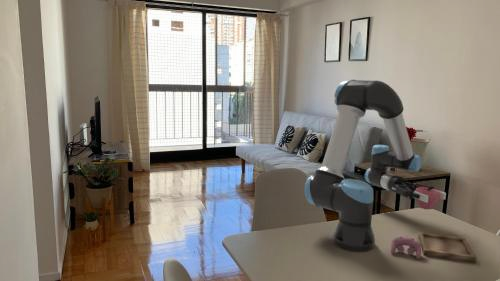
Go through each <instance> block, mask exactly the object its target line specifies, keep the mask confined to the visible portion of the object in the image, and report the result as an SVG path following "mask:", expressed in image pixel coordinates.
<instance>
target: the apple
mask: <svg viewBox="0 0 500 281" xmlns="http://www.w3.org/2000/svg"><path fill="white" fill-rule="evenodd" d="M433 187H434V186H430V188H426V187H418V188H416V190H415V191H416V192H419V193H422V194H425V195H428V202H427V203H426V202H424V201H421V200H418V199H415V200H416V201H417V203H418V206H419V208H420V209H422V210H432V209H433V208H434V206H436V205H437V203H438V202H439V200H440V198H439V197H440V195H439V192H438V191H439V190H438V191H436V190H437V189H435V190H433V189H434V188H435V187H434V188H433Z"/></svg>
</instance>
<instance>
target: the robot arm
mask: <svg viewBox="0 0 500 281" xmlns="http://www.w3.org/2000/svg"><path fill="white" fill-rule="evenodd" d="M334 104H335V106H336V110H337V112H338V115H337V116H336V117H337V118H336V119H335V124H334V125H333V130H332V133H331V135H330V139H329V142H328V145H327V147H326V151H325V154H324V158H323V160H322V163H321V166H320V167H318V168H317V169H316V170H315V172H314V174H311V175H309V176H308V177H307V179H306V181H305V183H304V194H305V199H306V200H307V202H308V203H310V204H311V205H314V206H316V207H318V208H322V209H327V210H330V211H332V212H337V213H338V222H337V225H336V228H335V229H334V233H333V235H332V242H333V244H334V245H335V246H337V247H338V248H341V249H342V250H345V251H350V252H356V253H360V252H361V253H363V252H369V251H372V250H373V249H374V248H375V245H376V244H375V242H376V240H375V235H374V234H375V233H374V231H373V227H372V221H373V220H372V218H373V206H374V201H375V200H374V189H373V187H372V185H373V186H376V187H379V188H382V189H385V190H386V191H388V192H390V191H391V192H392V193H395V194H398V195H399V196H402V197H404V198H408V199H409V200H413V199H415V200H416V199H418V200H421V201H424V202H426V203H427V202H428V195H425V194H422V193H419V192H416V191H415V190H416V188H418V187H426V188H430V187H431V186H430V185H426V184H421V183H417V182H412V183H411V182H409V181H406V179H405V177H402V176H400V175H396V174H392V173H390V172H388V168H392V169H397V170H401V171H406V172H419V170H420V168H421V167H422V163H423V161H422V157H421V156H420V155H418V154H414V151H413V148H412V145H411V144H412V143H411V140H410V136H409V133H408V130H407V126H406V123H405V119H404V114H403V112H404V108H405V107H404V105H403V102H402V100H401V97H400V96H399V94H398V93H397V92H396V90H394V88H393V87H391V86H390V85H389V84H388V83H386V82H384V81H381V80H363V79H362V80H359V79H358V80H357V79H350V80H349V79H347V80H344V81H342V82H340V83H339V84H338V85H337V88H336V90H335V91H334ZM367 110H368V111H375V112H377V113H378V116H379V117H380V118H381V119H382V121H383V123H384V125H385V129H386V132H387V135H388V138H389V142H390V145H391V147H392V149H393V150H392V151H391V150H390V147H389V146H388V145H385V144H375V145H373V146H372V150H371V157H370V158H371V159H370V167H369V168H368V169H366V171H365V173H364V178H365V181H366V182H365V181H363V180H360V179H356V178H355V179H353V178H345V177H344V174H343V172H344V170H345V167H346V162H347V160H348V156H349V153H350V150H351V147H352V143H353V140H354V138H355V134H356V131H357V127H358V125H359V121H360V119H361V118H363V117H365V115H366V111H367ZM367 182H368V183H367ZM370 184H371V185H370ZM433 188H434V189H433V190H436V191H438V192H439V195H440V197H439V199H441V200H444V201H445V200H446V197H447V196H446V195H447V193H446V192H444V191H441V190H439V189H436V187H434V186H433Z"/></svg>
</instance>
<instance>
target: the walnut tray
mask: <svg viewBox="0 0 500 281" xmlns="http://www.w3.org/2000/svg"><path fill="white" fill-rule="evenodd" d="M418 240H419V243H420V245H421V252H422V254H423V256H424V257H425V256H427V257H432V258H439V259H447V260H454V261H458V262H459V261H460V262H467V263H474V264H476V258H477V257H476V256H475V254H474V251H473V250H472V248H471V247H470V246H471V245H469V243H468V242H467V239H466V238H465V237H460V236H459V237H457V236H452V235H451V236H450V235H442V234H434V233H427V232H418Z"/></svg>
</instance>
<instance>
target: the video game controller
mask: <svg viewBox="0 0 500 281" xmlns="http://www.w3.org/2000/svg"><path fill="white" fill-rule="evenodd" d="M390 243H391V244H390V254H391V255H394V254H395V253H396V250H397V252H399V253H404V252H405V247H404V246H407V250H406V253H407V254H409V255H413V254H414V253H415V256H416V259H417V260H420V258H421V257H422V256H421V255H422V248H421V244H420V241H418V240H417V239H415V238H412V237H408V236H396V237H394V238H393V239H392V240H391V242H390Z"/></svg>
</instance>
